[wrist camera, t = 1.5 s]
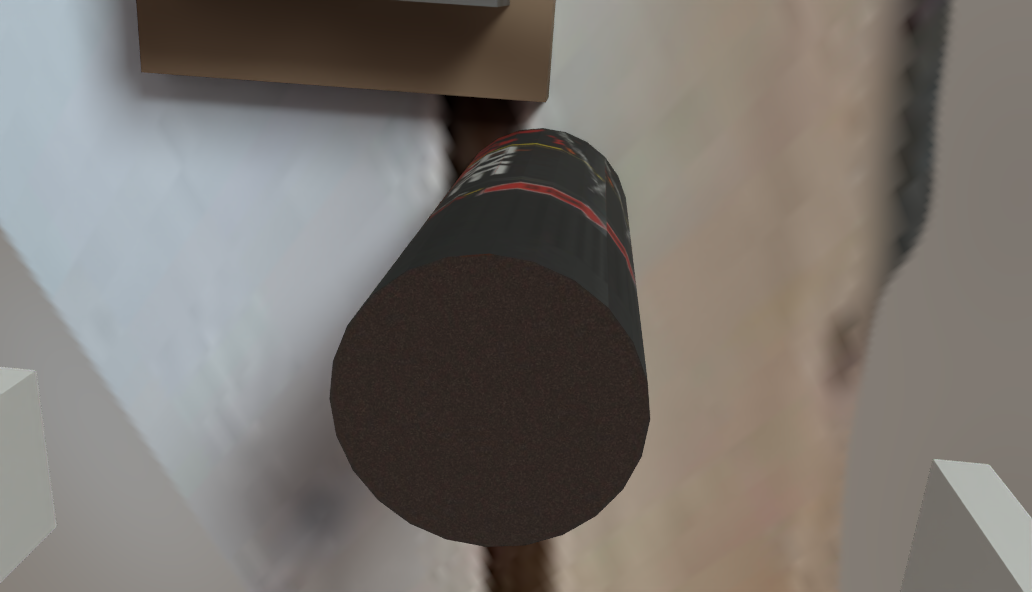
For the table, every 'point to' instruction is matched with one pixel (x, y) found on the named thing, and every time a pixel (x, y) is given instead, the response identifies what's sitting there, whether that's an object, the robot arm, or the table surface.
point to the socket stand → (357, 43)
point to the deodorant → (502, 352)
